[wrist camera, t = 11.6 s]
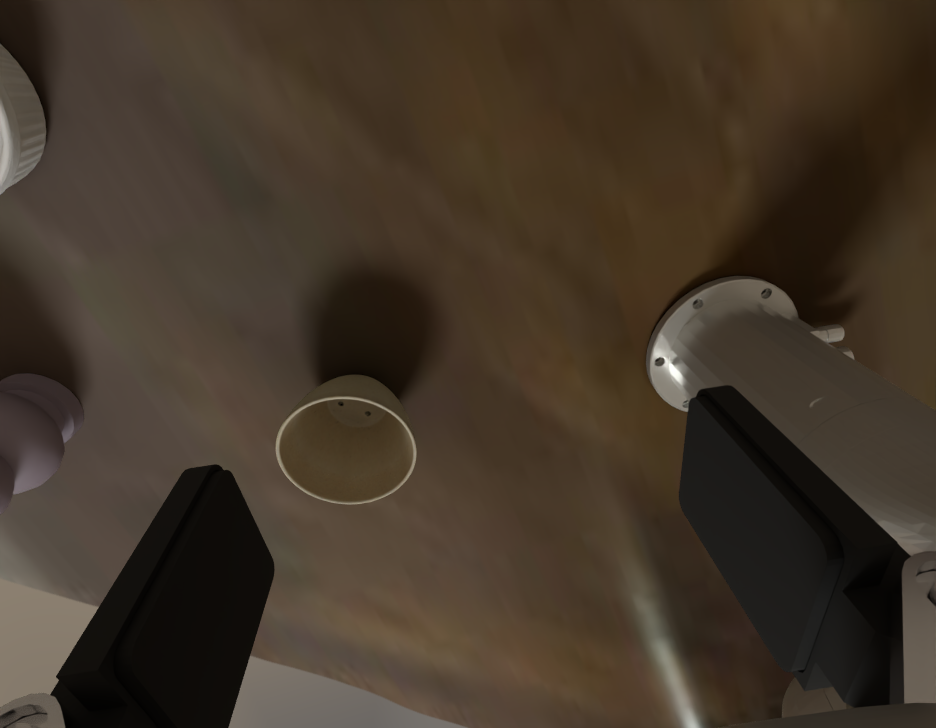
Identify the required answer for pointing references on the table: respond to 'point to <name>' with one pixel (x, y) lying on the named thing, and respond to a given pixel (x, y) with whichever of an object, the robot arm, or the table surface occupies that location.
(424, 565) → the table surface
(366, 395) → the flower pot
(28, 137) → the ramekin
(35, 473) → the cat figurine
